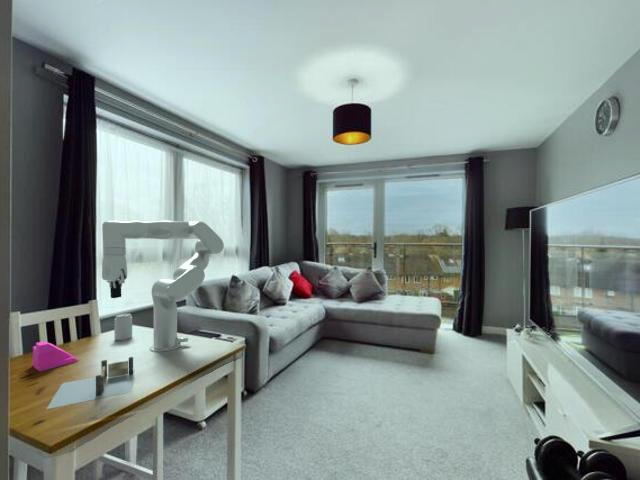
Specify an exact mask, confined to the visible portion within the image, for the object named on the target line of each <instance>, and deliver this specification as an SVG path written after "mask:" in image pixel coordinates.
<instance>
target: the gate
mask: <svg viewBox="0 0 640 480" xmlns="http://www.w3.org/2000/svg"><path fill="white" fill-rule="evenodd" d="M105 369H106V367H105V366H102V371H101V370H100V371H101V372H100V375H101V392H103V391H104V385H105V377H106V374H105Z"/></svg>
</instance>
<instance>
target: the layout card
mask: <svg viewBox="0 0 640 480" xmlns="http://www.w3.org/2000/svg"><path fill="white" fill-rule="evenodd" d="M134 376H135V370H134V369H133V374H132V375H129V370H128V374H126V375H121V376H115V377H110V378H108V374H107V379H105V385H104V391H103V392H101V395H100V396H96V376H95V377H90V378H84V379H79V380H73V381H68V382H67V381H66V382H62V384H61V385H60V387H59V388H58V390H56V391H57V392H56V393H55V394H54V396H53V398H52V399H51V401H50V403H49V404H48V406H47V407H46V410H52V409H54V408H59V407H64V406H71V405H75V404H79V403H85V402H88V401H93V400H94V401H95V400H98V399H104V398H108V397H113V396H118V395H122V394H126V393H127V394H128V393H131V392H133V383H134V378H135V377H134Z"/></svg>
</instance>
